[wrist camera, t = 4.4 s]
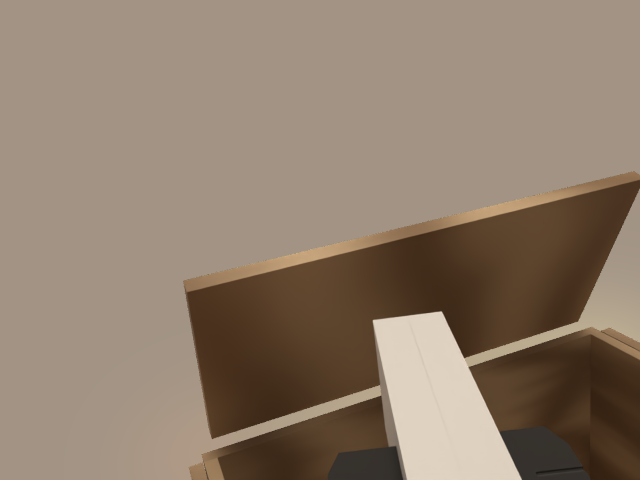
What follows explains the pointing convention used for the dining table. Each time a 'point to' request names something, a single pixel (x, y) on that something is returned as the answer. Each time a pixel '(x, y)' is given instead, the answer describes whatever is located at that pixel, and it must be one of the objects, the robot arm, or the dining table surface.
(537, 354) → the wooden open box
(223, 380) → the flap
